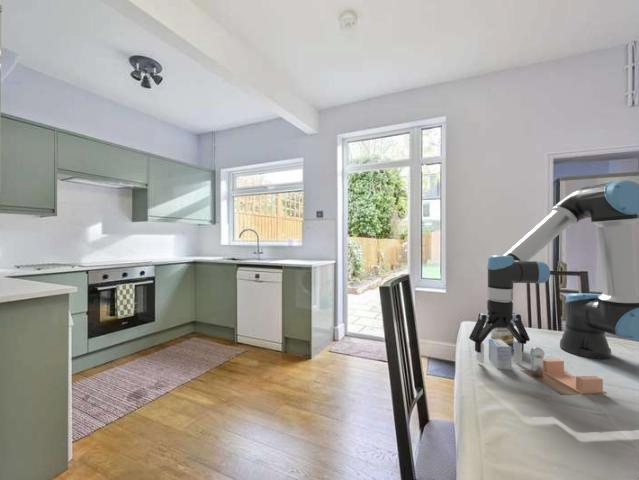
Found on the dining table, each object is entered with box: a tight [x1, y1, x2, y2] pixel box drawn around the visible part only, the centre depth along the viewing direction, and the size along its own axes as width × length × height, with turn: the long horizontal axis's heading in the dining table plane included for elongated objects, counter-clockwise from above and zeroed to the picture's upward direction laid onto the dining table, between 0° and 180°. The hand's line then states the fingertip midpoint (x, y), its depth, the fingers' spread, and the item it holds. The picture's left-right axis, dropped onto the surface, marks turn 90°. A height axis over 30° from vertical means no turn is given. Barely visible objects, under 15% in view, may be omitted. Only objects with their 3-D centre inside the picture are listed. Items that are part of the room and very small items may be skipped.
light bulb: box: [529, 346, 545, 378], centre depth 92 cm, size 4×4×9 cm
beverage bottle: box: [490, 300, 515, 351], centre depth 119 cm, size 8×8×20 cm
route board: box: [520, 369, 607, 396], centre depth 89 cm, size 14×15×1 cm
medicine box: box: [488, 338, 512, 370], centre depth 100 cm, size 8×4×9 cm, turn 168°
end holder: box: [543, 358, 605, 395], centre depth 88 cm, size 7×14×4 cm, turn 4°
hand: (499, 361), depth 100 cm, fingers open, 13 cm apart
